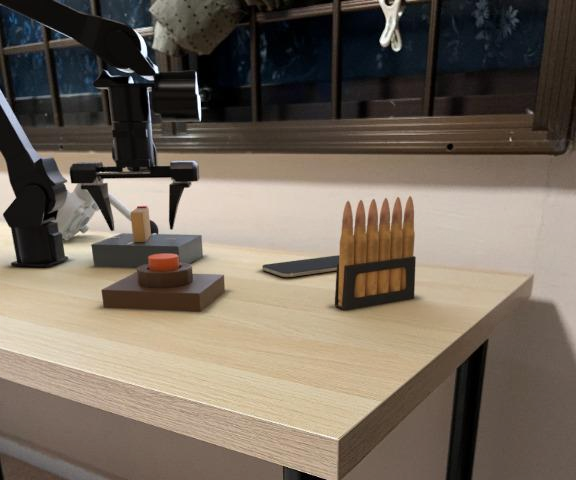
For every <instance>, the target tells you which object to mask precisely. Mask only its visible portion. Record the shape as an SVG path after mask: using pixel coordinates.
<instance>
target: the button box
mask: <svg viewBox="0 0 576 480" xmlns="http://www.w3.org/2000/svg"><path fill="white" fill-rule="evenodd" d="M135 270H136V271H135V272H133V273H132V274H129V275H127V276H125V277H124V278H122V279H120V280H118V281H116V282H113V283H112V284H110V285H108V286H106V287H104V288H102V289H101V296H102V304H103V308H105V309H124V310H125V309H126V310H127V309H128V310H146V311H147V310H149V311H171V312H173V311H174V312H192V313H193V312H194V313H195V312H196V313H201V312H202V311H204V310H205V309H206V308H207V307H208V306H209V305H210V304H212V303H214V301H215V300H217V299H218V298H219V297H220V296H221V295H223V293H225V292H226V287H225V286H226V285H225V274H218V273H217V274H213V273H194V272H193V266H192V264H187V263H181V262H179V269H175V270H168V271H152V270H149V264H145V265H142V266H140V267H138V268H135Z"/></svg>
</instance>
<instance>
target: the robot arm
mask: <svg viewBox="0 0 576 480" xmlns="http://www.w3.org/2000/svg"><path fill="white" fill-rule="evenodd" d="M0 6H3V7H4V8H7V9H9V10H11V11H14V12H16V13H18V14H20V15H22V16H23V17H26V18H28V19H30V20H32V21H34V22H36V23H38V24H40V25H43V26H45V27H47V28H49V29H51V30H53V31H55V32H57V33H60V34H62V35H64V36H66V37H68V38H70V39H72V40H74V41H76V42H77V44H78V43H79V44H80V45H81V46H82V47H84V48H85V49H87V50H88V51H89V52H91V53H92V54H94V55H95V56H96V57H98V58H99V59H101V60H102V61H103V62H105V63H106V64H108V65H109V66H111V67H113V68H114V69H117V70H118V71H120V72H124V73H128V74H132V73H135V74H137V75H138V76H139V77H141V78H144V79H146V80H147V81H153V82H147V83H145V82H142V83H139V82H136V83H135V82H134V80H133V77H132V76H131V75H111V74H110V73H109V71H108V70H105V69H102V70H101V72H100V74H99V76H98V77H97V78H96V79H95V80H94V81H93V82H92V87H94V88H96V89H99V90H107V93H108V102H109V113H110V121H111V122H110V123H111V129H112V130H111V134H112V138H113V139H112V141H111V159H112V160H113V162H114V163H115V165H113V166H108V165H107V166H104V164H103V161H82V162H81V161H80V162H75V163H72V164H71V166H70V167H69V177H70V183H71V184H76V185H77V184H78V183H82V186H81V189H82V190H88V192H89V193H90V195H91V196H92V198H93V199H94V201H95V202H96V204H97V205H98V207H99V209H100V210H99V211H100V212H101V215H102V217H103V219H104V220H105V222H106V225H107V226H108V228H109V230H110V231H111V232H113V231H115V220H114V215H113V210H112V205H111V204H110V200H109V196H108V192H109V185H108V182H104V179H107V180H109V179H114V180H115V179H116V180H117V179H166V178H170V180H171V181H172V182H171V183H170V184H169V185H168V187H169V188H168V189H169V190H168V201H169V202H168V223H169V230H174V227H175V222H176V218H177V213H178V209H179V204H180V201H181V198H182V196H183V194H184V191H185V189H187V188H188V189H189V188H190V187H192V182H199V180H200V166H199V164H198V162H197V161H196V160H172V161H170V162H169V165H158V164H159V163H158V150H157V148H156V145H155V142H154V139H153V129H152V127H153V126H152V116H151V107H150V95H149V90H151V104H152V111H153V115H157V116H158V115H160V118H161V119H160V120H161V122H162V123H173V122H174V123H180V122H181V123H184V122H185V123H186V122H187V123H188V122H190V123H191V122H195V123H196V122H197V123H199V122H201V120H202V107H201V103H202V102H201V96H200V94H199V85H198V76H197V75H198V74H197V71H195V70H194V69H185V70H182V71H159V67H158V66H157V65H156V64H154V63H153V62H152V60H151V59H150V57H149V56H148V49H147V47H148V46H147V45H146V41H145V39H144V38H143V36H142V35H141V34H140V33H138V31H136V30H135V29H134V28H133V27H131V26H130V25H129V24H127V23H126V22H125V23H124V22H122V21H118V20H116V19H115V20H114V19H110V18H107V17H103V16H99V15H94V14H91V13H87V12H82V11H79V10H77V9H76V8H73V7H71V6H69V5H67V4H66V3H63V2H61V1H59V0H0ZM0 153H1V156H3V159H4V161H5V164H6V169H7V176H8V180H9V183H10V186H11V189H12V191H13V194H14V196H15V198H14V200H12V202H11V203H10V204H9V205H8V207H7V208H6V210H5V211H4V212H3V213H2V217H3V219H4V221H5V222H6V224H7V226H8V227H9V228H10V231H11V236H12V237H11V238H12V242H13V247H14V253H15V259H16V260H15V261H12V262H10V266H11V267H35V268H37V267H39V268H44V267H45V268H49V267H52V266H54V265H58V264H59V263H63V262H65V261H67V260H69V256H67V255H66V253H65V248H64V247H65V246H64V241H63V240H64V239H62V234H61V232H59V230H58V223H57V222H51V221H53V220H56V219H57V216H58V211H59V209H60V208H61V207H63V205H64V204H65V202H66V198H67V195H68V194H67V190H68V189H67V187H66V184H67V183H68V180H67V179H66V178H65V177H64V176H63V174H62V173H61V172H60V170H59V167H58V164H57V161H56V160H55V158H54V157H53V156H48V157H42V156H41V155H40V154H39V153H38V152H37V151H36V149H34V147H33V145H32V143H31V142H30V140H29V137H28V136H27V134H26V133H25V131H24V129H23V127H22V125H21V124H20V122H19V120H18V118H17V116H16V115H15V113H14V111H13V110H12V107H11V106H10V104H9V102H8V101H7V99H6V97H5V95H4V94H3V92H2V90H1V89H0ZM124 169H127V171H124ZM103 182H104V183H103Z"/></svg>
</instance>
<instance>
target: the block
mask: <svg viewBox="0 0 576 480" xmlns="http://www.w3.org/2000/svg"><path fill="white" fill-rule="evenodd" d="M150 220H151V219H150V209H149V207H148V205H138V206H136V208H135V209H133V210H132V211H131V221H130V223H131V230H132V231H131V233H132V234H133V241H134V242H146V241H147V239H148V238H149V237H150V236H151V229H150Z"/></svg>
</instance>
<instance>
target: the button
mask: <svg viewBox="0 0 576 480" xmlns="http://www.w3.org/2000/svg"><path fill="white" fill-rule="evenodd" d="M148 261H149V270H152V271H168V270H175V269H179V257H178V255H177V254H169V253H164V254H154V255H150V256H149V257H148Z"/></svg>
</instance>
